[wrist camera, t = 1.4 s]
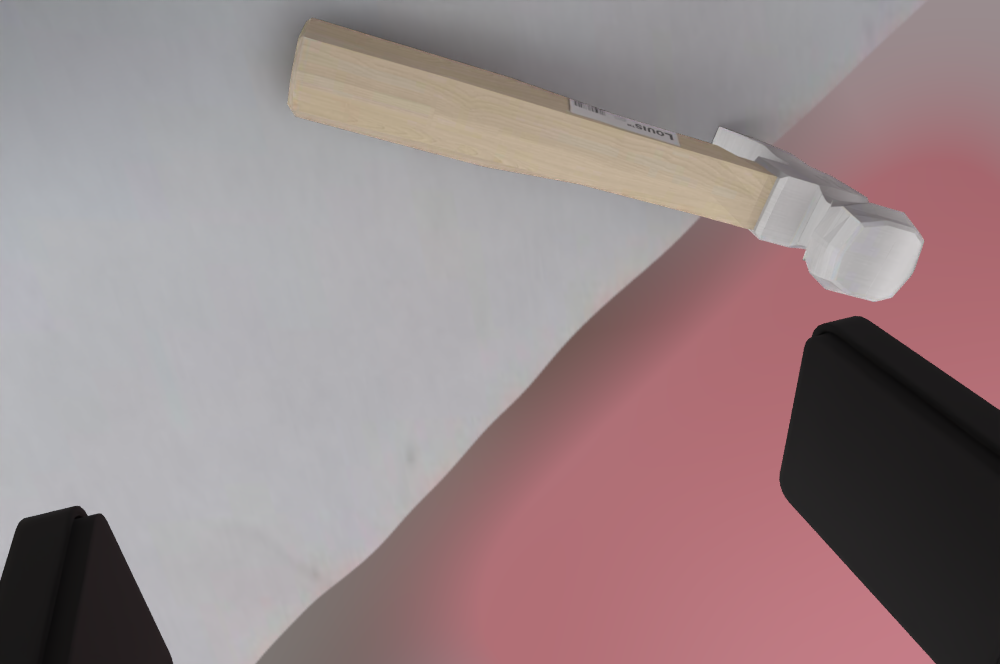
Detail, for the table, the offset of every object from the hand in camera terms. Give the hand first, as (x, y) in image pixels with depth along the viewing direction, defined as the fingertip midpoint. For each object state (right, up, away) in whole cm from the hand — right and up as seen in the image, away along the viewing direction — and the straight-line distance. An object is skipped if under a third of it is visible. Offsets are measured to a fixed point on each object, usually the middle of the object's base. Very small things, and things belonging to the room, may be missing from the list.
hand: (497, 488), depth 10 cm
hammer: (+3, +15, +34) cm, 37 cm away
